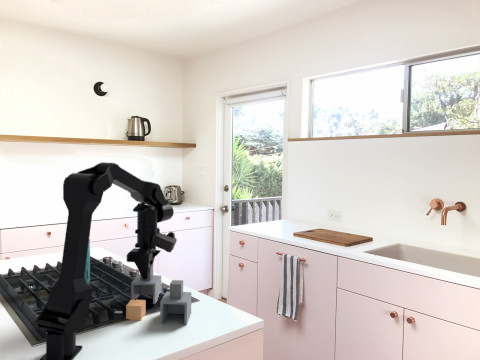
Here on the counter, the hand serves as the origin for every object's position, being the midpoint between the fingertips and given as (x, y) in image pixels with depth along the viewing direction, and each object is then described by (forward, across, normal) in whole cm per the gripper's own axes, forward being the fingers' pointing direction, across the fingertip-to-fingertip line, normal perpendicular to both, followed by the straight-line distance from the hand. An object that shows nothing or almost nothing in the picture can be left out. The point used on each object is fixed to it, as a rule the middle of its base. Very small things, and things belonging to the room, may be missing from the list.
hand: (146, 277), depth 108 cm
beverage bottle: (+8, +10, +25) cm, 28 cm away
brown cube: (+8, -10, 0) cm, 12 cm away
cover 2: (+8, -10, -11) cm, 17 cm away
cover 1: (+6, 0, 0) cm, 6 cm away
